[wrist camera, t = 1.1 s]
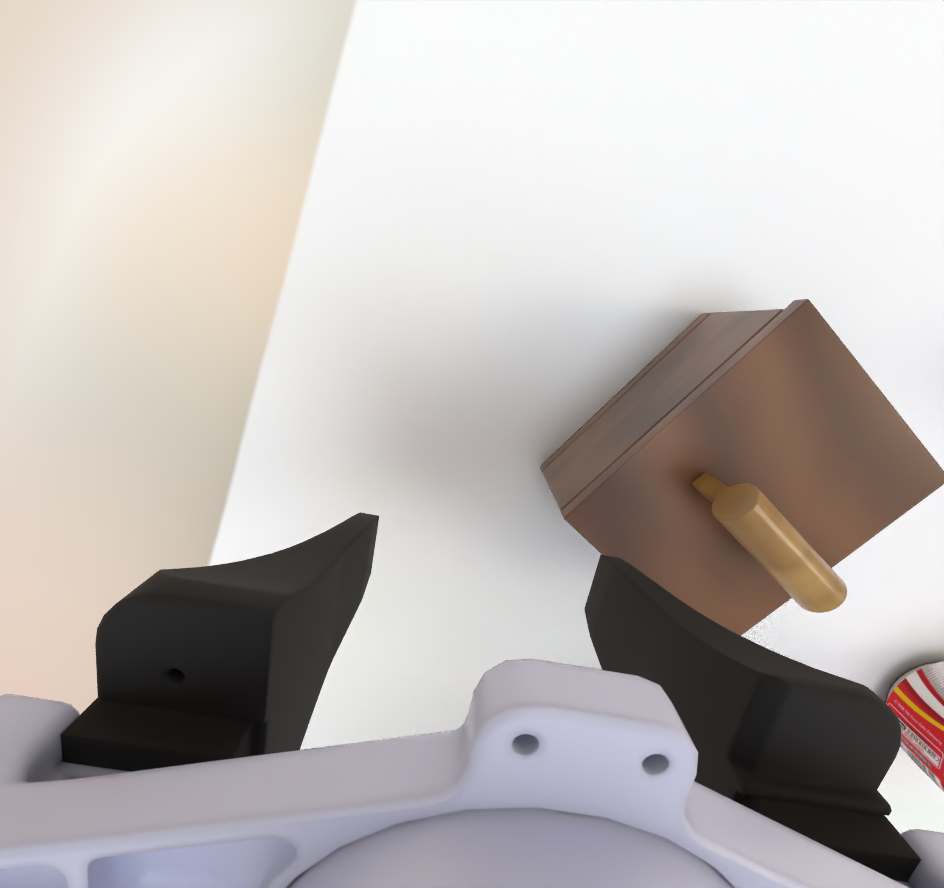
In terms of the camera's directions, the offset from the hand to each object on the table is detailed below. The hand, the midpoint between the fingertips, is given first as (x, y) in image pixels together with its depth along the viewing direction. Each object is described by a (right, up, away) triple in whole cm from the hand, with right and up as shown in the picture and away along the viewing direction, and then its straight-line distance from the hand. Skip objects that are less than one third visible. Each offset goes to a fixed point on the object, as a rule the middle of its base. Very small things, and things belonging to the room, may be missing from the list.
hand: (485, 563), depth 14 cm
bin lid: (+11, +2, +4) cm, 12 cm away
